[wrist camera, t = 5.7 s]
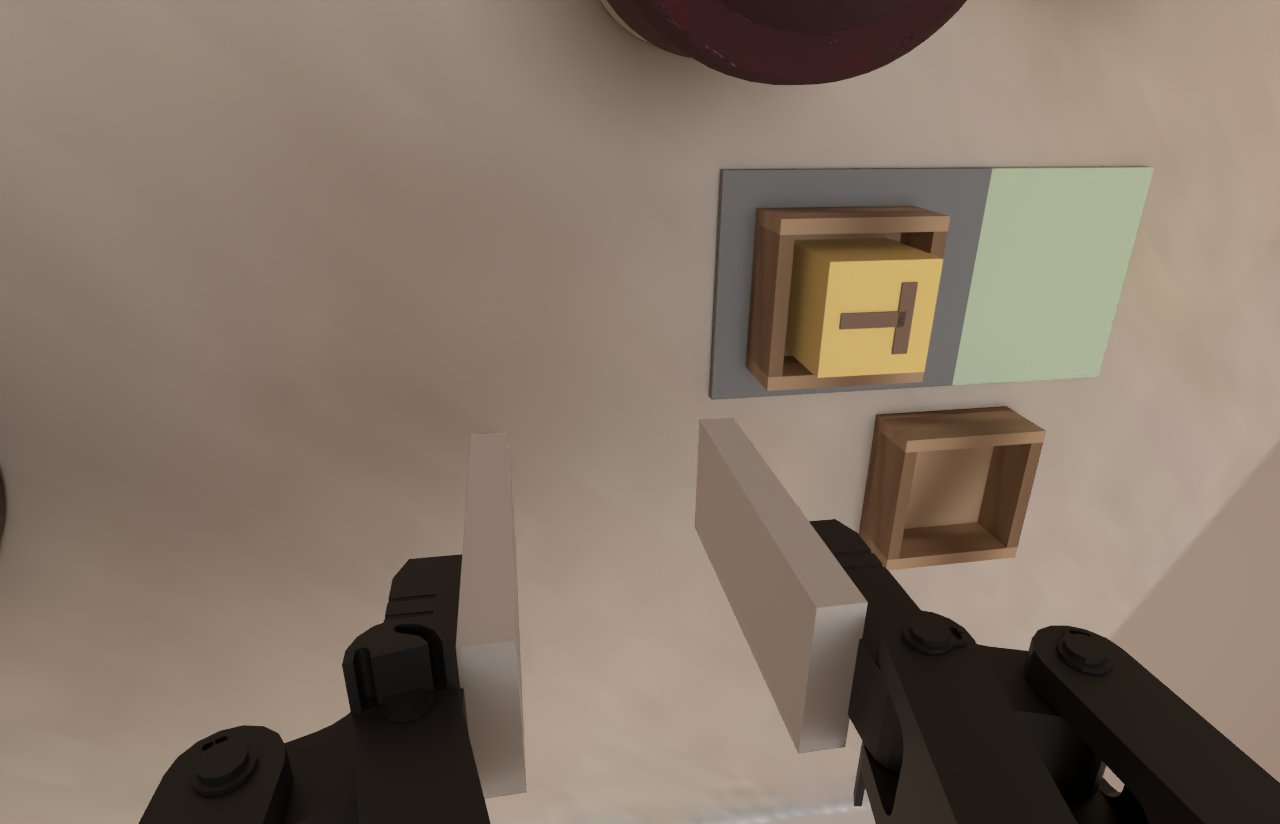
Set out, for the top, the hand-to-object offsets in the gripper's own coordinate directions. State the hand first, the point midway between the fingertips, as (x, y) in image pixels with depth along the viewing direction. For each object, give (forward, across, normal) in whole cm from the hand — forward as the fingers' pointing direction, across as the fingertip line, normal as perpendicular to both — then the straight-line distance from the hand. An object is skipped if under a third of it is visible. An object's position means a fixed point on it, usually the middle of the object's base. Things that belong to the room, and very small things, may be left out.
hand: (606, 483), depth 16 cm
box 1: (+16, +12, 0) cm, 20 cm away
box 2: (+17, +19, -10) cm, 27 cm away
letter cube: (+16, +12, 0) cm, 20 cm away
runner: (+17, +17, 0) cm, 24 cm away
